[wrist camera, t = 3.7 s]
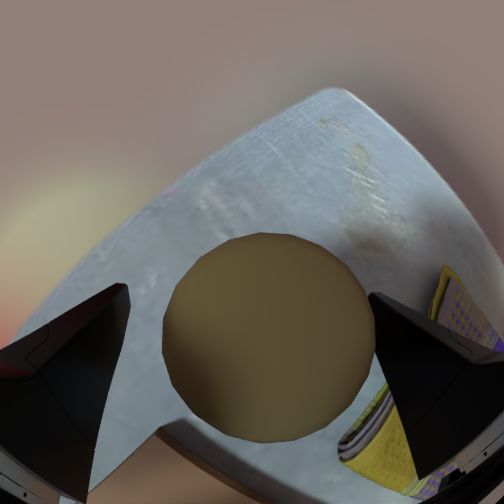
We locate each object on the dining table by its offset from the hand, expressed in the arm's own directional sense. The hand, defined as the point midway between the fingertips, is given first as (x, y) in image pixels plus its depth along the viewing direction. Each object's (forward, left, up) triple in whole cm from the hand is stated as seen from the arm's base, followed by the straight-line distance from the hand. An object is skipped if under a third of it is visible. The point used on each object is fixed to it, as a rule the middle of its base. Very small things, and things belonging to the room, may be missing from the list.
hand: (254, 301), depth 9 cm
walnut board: (-7, +14, -7) cm, 17 cm away
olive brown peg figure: (-1, +1, -7) cm, 7 cm away
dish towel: (-22, -5, -7) cm, 24 cm away
